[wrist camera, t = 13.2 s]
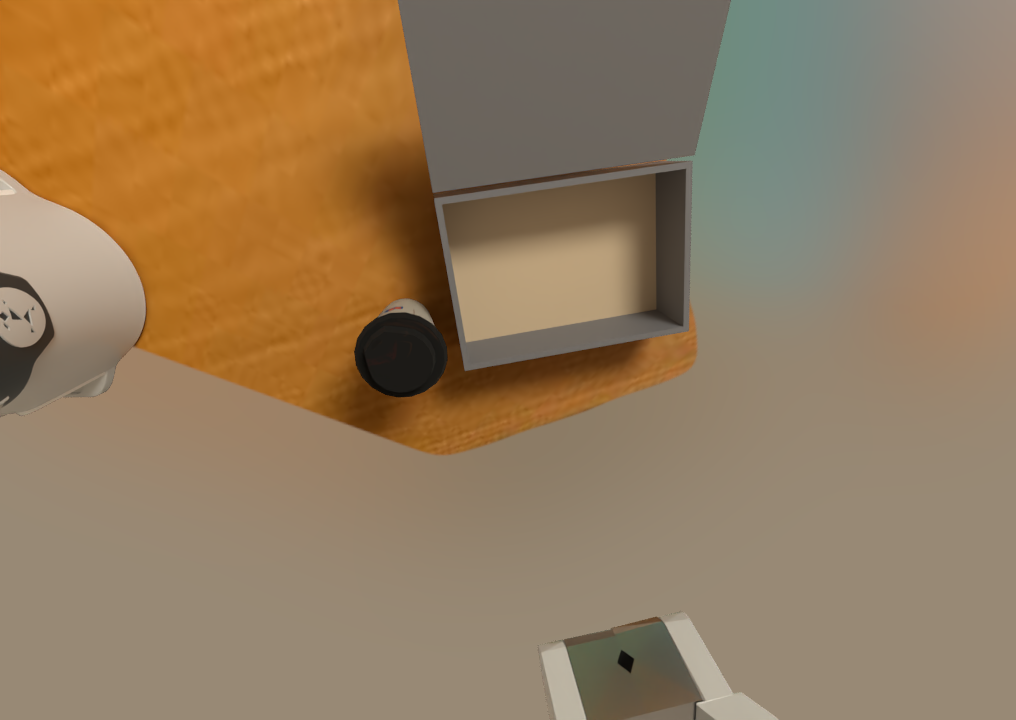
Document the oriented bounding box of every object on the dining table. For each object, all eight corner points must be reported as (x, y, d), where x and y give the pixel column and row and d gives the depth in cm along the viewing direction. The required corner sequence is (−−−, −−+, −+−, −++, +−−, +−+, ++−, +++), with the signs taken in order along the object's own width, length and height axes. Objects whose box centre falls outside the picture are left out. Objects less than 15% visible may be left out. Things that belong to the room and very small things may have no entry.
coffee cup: (459, 320, 45) (467, 359, 36) (410, 371, 46) (405, 422, 37) (402, 269, 43) (394, 298, 33) (351, 324, 44) (330, 367, 35)
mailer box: (460, 346, 46) (464, 370, 41) (433, 193, 41) (433, 198, 35) (658, 311, 48) (688, 331, 42) (658, 161, 42) (692, 160, 37)
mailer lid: (386, -64, 24) (386, -66, 25) (432, 192, 35) (432, 188, 35) (754, -99, 26) (748, -100, 27) (694, 155, 36) (690, 151, 37)
